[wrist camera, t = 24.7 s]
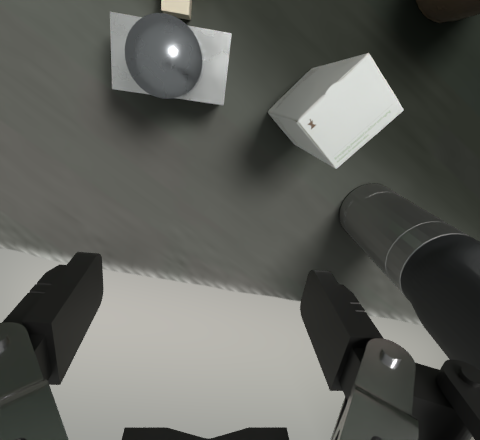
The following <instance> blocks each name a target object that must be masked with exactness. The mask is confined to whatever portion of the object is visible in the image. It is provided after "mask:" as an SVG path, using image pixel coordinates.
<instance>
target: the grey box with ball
mask: <svg viewBox="0 0 480 440" xmlns="http://www.w3.org/2000/svg"><path fill="white" fill-rule="evenodd" d="M110 32H111V70H112V89H115V90H122V91H129V92H136V93H143V94H150V95H153V96H155V97H158V98H164V99H171V98H177V99H184V100H191V101H198V102H205V103H212V104H218V105H224V96H225V87H226V79H227V70H228V61H229V52H230V43H231V34H232V33H226V32H221V31H215V30H210V29H204V28H198V27H193V26H187V25H186V24H185V23H184V22H183V21H182V20H180V19H178V18H177V17H175V16H172V15H169V14H166V13H153V14H149V15H146V16H144V17H137V16H131V15H126V14H120V13H115V12H110Z"/></svg>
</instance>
